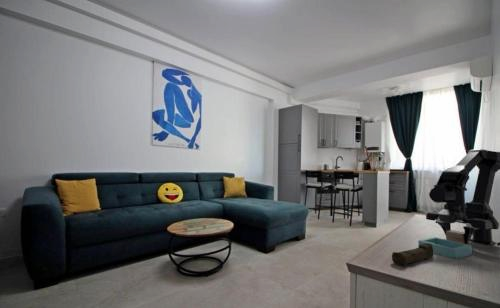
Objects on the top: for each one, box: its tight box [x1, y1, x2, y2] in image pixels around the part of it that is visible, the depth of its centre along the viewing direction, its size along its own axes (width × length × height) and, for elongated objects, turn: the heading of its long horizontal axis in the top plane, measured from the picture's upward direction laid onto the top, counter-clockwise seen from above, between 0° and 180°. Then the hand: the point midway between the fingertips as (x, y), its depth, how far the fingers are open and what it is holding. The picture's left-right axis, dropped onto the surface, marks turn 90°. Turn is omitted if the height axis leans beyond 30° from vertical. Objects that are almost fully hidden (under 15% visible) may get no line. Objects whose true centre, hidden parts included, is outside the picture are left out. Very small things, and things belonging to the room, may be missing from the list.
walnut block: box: [445, 229, 470, 245], centre depth 89 cm, size 5×5×5 cm
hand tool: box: [391, 243, 434, 267], centre depth 72 cm, size 19×4×5 cm, turn 113°
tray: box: [417, 236, 473, 260], centre depth 81 cm, size 11×11×3 cm
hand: (457, 242), depth 89 cm, fingers closed on walnut block, 5 cm apart
